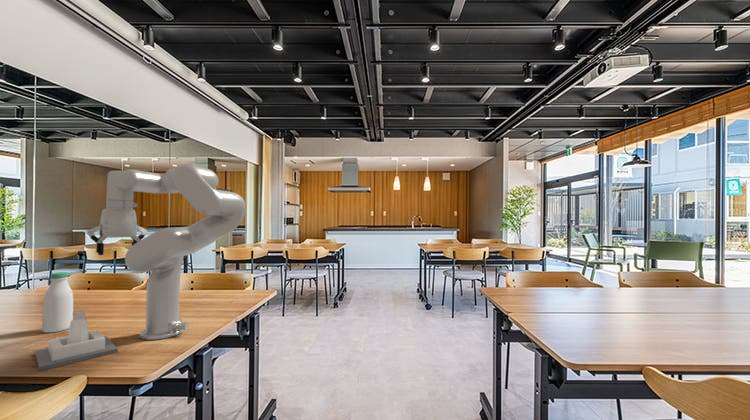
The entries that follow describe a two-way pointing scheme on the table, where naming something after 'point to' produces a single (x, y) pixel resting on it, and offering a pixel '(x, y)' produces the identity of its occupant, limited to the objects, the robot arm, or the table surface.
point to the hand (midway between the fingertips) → (118, 253)
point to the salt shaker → (78, 328)
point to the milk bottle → (57, 304)
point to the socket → (73, 350)
